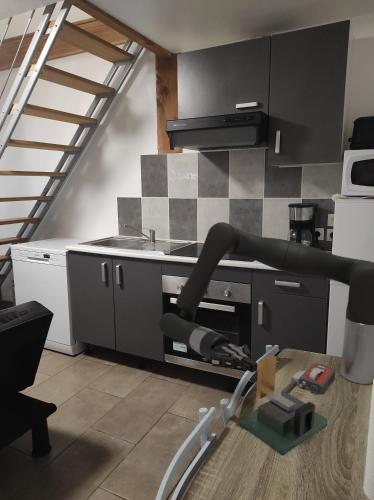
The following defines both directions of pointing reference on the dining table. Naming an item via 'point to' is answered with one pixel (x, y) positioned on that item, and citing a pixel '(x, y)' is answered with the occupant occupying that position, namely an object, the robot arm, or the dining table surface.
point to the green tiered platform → (284, 423)
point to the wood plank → (270, 383)
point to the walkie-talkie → (313, 379)
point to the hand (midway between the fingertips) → (255, 368)
